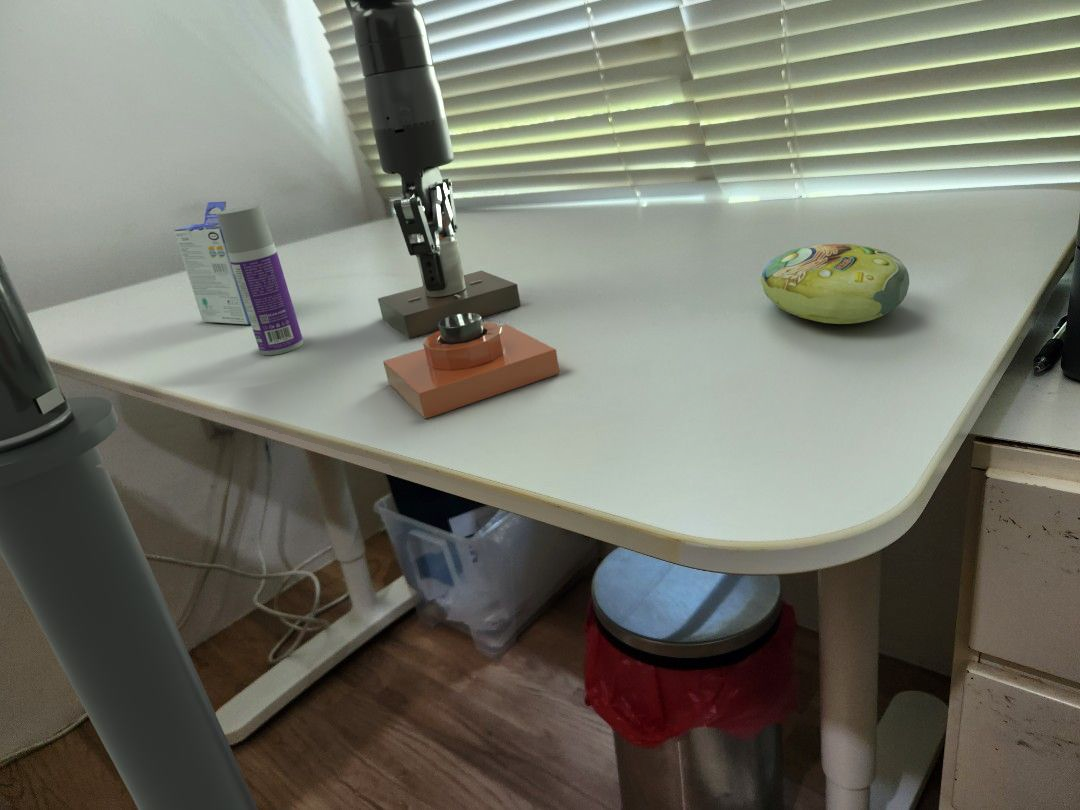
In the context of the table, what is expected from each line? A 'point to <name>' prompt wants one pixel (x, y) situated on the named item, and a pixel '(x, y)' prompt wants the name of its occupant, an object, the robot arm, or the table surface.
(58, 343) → the table surface
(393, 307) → the dial panel
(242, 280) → the container
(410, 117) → the robot arm
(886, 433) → the table surface
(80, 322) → the table surface
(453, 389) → the button housing
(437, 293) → the dial
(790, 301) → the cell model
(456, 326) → the button
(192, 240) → the ink cartridge box
